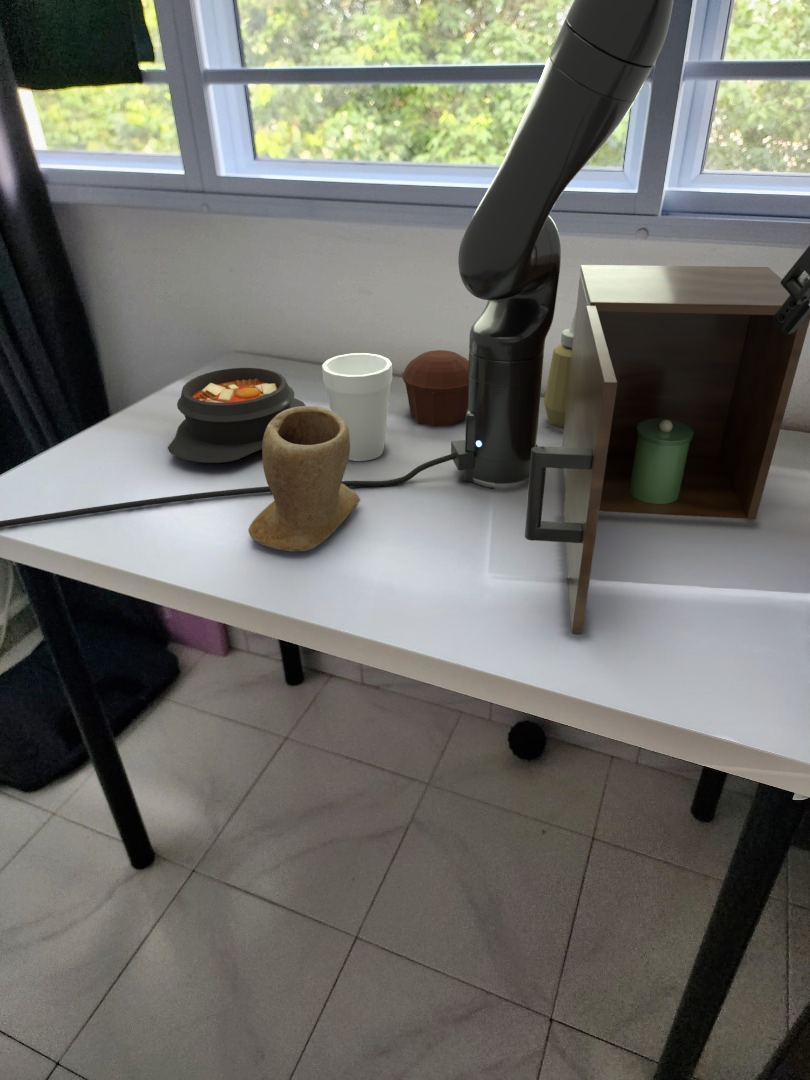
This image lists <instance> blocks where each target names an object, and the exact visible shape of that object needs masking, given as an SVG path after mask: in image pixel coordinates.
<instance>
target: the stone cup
mask: <svg viewBox="0 0 810 1080" xmlns="http://www.w3.org/2000/svg"><path fill="white" fill-rule="evenodd" d="M261 451H262V453H261V455H262V468H263V473H264V477H265V481H266V484H267V486H269V488H270V490H271V492H270V493H271V495H272V497H273V501H272V502H271V503H270V504H268V505H267V506H266V507H265V508H264V509H263V510H262V511H260V513H259V514H258V515H257V516H256V517H255V518H254V519H253V520H252V522H251V523H250V525H249V527H248V529H247V531H248V534H249V536H250V538H251V539H252V540H253V541H254V542H256V543H259V544H261V545H263V546H264V547H268V548H270V549H274V550H278V551H283V552H307V551H310V550H312V549H314V548H316V547H318V546H319V545H321V544H322V543H323V542H325V541H326V540H327V539H329V537H330V536H331V535H333V533H334V532H335V531H336V530H337V529H339V528H340V526H341V525H342V524H343V523H344V521H345V520H346V519H347V518H348V517H349V516H350V514H351V513H352V512H353V511H354V510H355V508H356V507H357V506H358V505H359V503H360V501H361V498H360V496H359V495H358V494H357V493H356V492H355V491H353V490H352V489H351V488H349V487H347V486H346V485H344V484H342V483H341V482H342V481H343V479H344V475H345V472H346V470H347V467H348V464H349V455H350V437H349V429H348V427H347V424H346V422H345V421H344V420H343V419H342V417H340V416H339V415H338V414H336V413H335V412H333V411H331V409H330V408H329V409H328V408H325V407H322V406H315V405H306V406H299V407H293V408H290V409H287V410H284V411H282V412H281V413H279V414H277V415H276V416H275V417H274V418H273V419H272V420H271V421H270V423H269V424H268V426H267V428H266V430H265V433H264V437H263V444H262V450H261Z"/></svg>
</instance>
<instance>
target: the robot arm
mask: <svg viewBox="0 0 810 1080" xmlns="http://www.w3.org/2000/svg"><path fill="white" fill-rule="evenodd" d="M674 2H675V0H573V2H572V4H571V6H570V8H569V10H568V13H567V15H566V16H565V19H564V21H563V24H562V25H561V28H560V30H559V33H558V35H557V37H556V39H555V42H554V44H553V47H552V48H551V50H550V53H549V56H548V58H547V61H546V64H545V65H544V68H543V71H542V73H541V75H540V78H539V81H538V83H537V86H536V88H535V89H534V92H533V94H532V96H531V99H530V101H529V103H528V105H527V107H526V109H525V112H524V114H523V116H522V118H521V120H520V123H519V125H518V128H517V130H516V132H515V134H514V137H513V139H512V141H511V143H510V146H509V148H508V151H507V153H506V155H505V157H504V159H503V161H502V163H501V165H500V166H499V169H498V171H497V173H496V175H495V177H494V178H493V179H492V182H491V184H490V185H489V187H488V188H487V190H486V192H485V194H484V196H483V198H482V199H481V201H480V203H479V204H478V206H477V208H476V210H475V212H474V213H473V215H472V217H471V219H470V220H469V222H468V225H467V227H466V229H465V230H464V233H463V235H462V238H461V241H460V245H459V250H458V256H457V257H458V258H457V260H458V264H457V266H458V270H459V271H458V272H459V275H460V279H461V282H462V283H463V285H464V287H465V289H466V290H467V291H468V292H469V293H470V294H471V295H472V296H474V297H475V298H477V299H480V300H483V301H486V305H485V307H484V309H483V310H482V312H481V313H480V315H479V316H478V318H477V319H476V320H475V321H474V322H473V323H472V325H471V327H470V330H469V335H468V336H469V338H468V339H469V340H468V341H469V342H468V360H469V373H468V407H467V413H466V416H465V434H464V435H465V439H459V440H451V441H450V442H451V443H450V454H446V455H444V456H441V457H437V458H435V459H432V460H429V461H427V462H424V463H422V464H420V465H418V466H416V467H415V468H413V469H412V470H411V471H409V472H408V473H406V474H405V475H403V476H401V477H397V478H393V479H387V480H342V482H341V483H342V484H344V485H346V486H347V487H348V488H349V487H360V488H361V487H363V488H365V487H367V488H380V487H391V486H396V485H399V484H403V483H407V482H408V481H410V480H412V479H413V478H414V477H415V476H417V475H418V474H419V473H421V472H423V471H424V470H427V469H429V468H432V467H435V466H437V465H440V464H444V463H446V462H449V461H453V463H454V465H455V468H456V469H457V470H458V471H464V473H463V474H464V478H463V479H464V482H467V483H474V484H476V485H478V486H480V487H485V488H489V489H495V487H496V484H501V485H502V484H503V485H504V484H513V483H518V482H522V481H524V480H526V479H527V480H528V479H529V474H530V461H531V449H532V448H533V447H537V446H538V444H537V441H538V431H539V430H538V429H539V417H540V405H541V394H542V393H541V391H542V381H543V380H542V379H543V371H544V370H543V369H544V359H545V358H544V355H545V345H546V339H547V336H548V334H549V332H550V330H551V327H552V324H553V321H554V317H555V311H556V303H557V297H558V295H557V294H558V289H559V281H560V280H559V279H560V271H561V263H562V262H561V261H562V246H561V245H562V243H561V237H560V233H559V230H558V228H557V226H556V223H555V221H554V220H553V218H552V217H551V216H550V214H551V212H552V211H553V208H554V207H555V205H556V203H557V202H558V200H559V198H560V197H561V195H562V194H563V193H564V191H565V190H566V188H567V187H568V186H569V185H570V183H571V182H572V181H573V180H574V178H575V177H576V176H577V175H578V174H579V173H580V172H581V170H583V169H584V167H585V166H586V165H587V164H588V163H589V162H590V160H591V159H592V158H593V157H594V156H595V155H596V154H597V153H598V151H600V149H601V148H602V146H604V145H605V143H606V142H607V141H608V139H609V138H610V137H611V136H612V135H613V134H614V132H615V131H616V130H617V129H618V127H619V126H620V125H621V123H622V121H623V120H624V119H625V117H626V116H627V114H628V112H629V111H630V110H631V108H632V106H633V104H634V102H635V101H636V99H637V97H638V95H639V93H640V91H641V90H642V88H643V86H644V84H645V82H646V80H647V78H648V77H649V76H650V74H651V71H652V69H653V68H654V65H655V64H656V62H657V60H658V57H659V56H660V53H661V51H662V49H663V46H664V44H665V41H666V39H667V36H668V32H669V27H670V23H671V19H672V13H673V9H674V8H673V7H674ZM781 279H782V280H781V282H780V284H781V285H782V286H783V287H784V288H785V289H786V290H787V292H788V293H789V294H790V296H789V297H788V298H787V300H786V301H785V302H784V304H783V305H782V306H781V307H780V309H779V310H778V311H777V312H776V314H775V315H774V317H773V322H774V324H775V325H776V326H777V328H778V329H779V330H780V331H781V333H782V334H784V335H787V334H791V333H794V332H795V330H796V329H797V328H798V327H799V326H800V324H801V323H802V322H803V321H804V320H805V318H806V317H807V316H808V315H809V314H810V244H809V245H808V247H807V248H806V249H805V250H804V251H803V253H802V254H801V256H799V258H798V259H797V260H796V262H794V264H793V265H792V266H791V268H790V269H789V270H788V271H787V273H786V274H785V275H784V276H783V278H781ZM262 493H263V494H264V493H272V492H271V490H270V488H269V486H268V485H266V486H257V487H256V486H255V487H245V488H236V489H224V490H216V491H215V490H213V491H205V492H198V493H189V494H180V495H171V496H165V497H164V496H163V497H155V498H149V499H140V500H134V501H126V502H119V503H113V504H106V505H98V506H92V507H83V508H78V509H72V510H71V509H70V510H64V511H58V512H52V513H45V514H39V515H38V514H37V515H31V516H24V517H18V518H11V519H4V520H0V528H5V527H11V526H19V525H24V524H31V523H38V522H43V521H44V522H45V521H51V520H57V519H58V520H59V519H65V518H71V517H78V516H84V515H92V514H97V513H105V512H111V511H120V510H125V509H126V510H127V509H133V508H139V507H146V506H155V505H161V504H162V505H163V504H170V503H177V502H187V501H195V500H203V499H210V498H211V499H212V498H213V499H214V498H221V497H230V496H232V497H233V496H240V495H241V496H242V495H253V494H262Z"/></svg>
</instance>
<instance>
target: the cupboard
mask: <svg viewBox="0 0 810 1080" xmlns="http://www.w3.org/2000/svg"><path fill="white" fill-rule="evenodd" d="M579 271H580V272H579V280H578V289H577V290H578V291H577V298H576V299H577V300H576V308H575V311H576V317H575V327H574V336H573V346H572V356H571V365H570V375H569V385H568V394H567V404H566V413H565V423H564V427H563V433H562V434H563V435H562V444H561V448H571V439H572V429H573V420H574V411H575V402H576V393H577V384H578V375H579V366H580V357H581V348H582V339H583V330H584V321H585V312H586V306H596V308H597V312H598V316H599V319H600V323H601V326H602V330H603V334H604V337H605V341H606V344H607V348H608V352H609V355H610V359H611V362H612V366H613V370H614V373H615V377H616V380H617V388H616V396H615V403H614V410H613V417H612V424H611V431H610V438H609V445H608V452H607V460H606V467H605V474H604V481H603V488H602V495H601V502H600V509H599V512H605V513H606V512H607V513H622V514H623V513H624V514H625V513H626V514H643V515H644V514H646V515H663V516H683V517H700V518H701V517H703V518H722V519H740V520H757V516H758V512H759V508H760V505H761V501H762V497H763V493H764V490H765V486H766V483H767V479H768V476H769V471H770V468H771V464H772V461H773V458H774V454H775V451H776V446H777V442H778V439H779V435H780V431H781V428H782V424H783V421H784V418H785V413H786V409H787V406H788V402H789V398H790V395H791V391H792V388H793V384H794V380H795V377H796V373H797V369H798V366H799V362H800V358H801V355H802V351H803V347H804V343H805V340H806V337H807V333H808V329H809V325H810V314H809V315H808V316H807V317H806V318H805V320H804V321H803V322H802V323H801V324H800V326H799V327H798V328H797V329H796V330H795V332H794V333H791V334H787V335H784V334H782V333H781V331H780V330H779V329H778V328H777V326H776V325H775V324H774V322H773V317H774V315H775V314H776V312H777V311H778V310H779V309H780V307H781V306H782V305H783V304H784V302H785V301H786V300H787V298H788V297H789V296H790V294H789V293H788V292H787V290H786V289H785V288H784V287H783V286H782V285H781V284H780V282H781V280H782V279H783V278H781V277H780V276H779V275H778V274H777V273H776V272H775V271H773V270H772V268H770V267H769V266H718V265H717V266H712V265H711V266H707V265H706V266H705V265H703V266H702V265H634V264H633V265H632V264H631V265H630V264H629V265H626V264H625V265H622V264H621V265H620V264H619V265H617V264H580V270H579ZM649 419H669V420H675V421H679V422H682V423H684V424H686V425H688V426H690V427H691V428H692V429H693V431H694V436H693V439H692V440H691V441H690V446H689V451H688V456H687V461H686V466H685V471H684V475H683V480H682V485H681V490H680V495H679V498H678V499H677V500H676V501H674V502H671V503H667V504H652V503H647V502H643V501H640V500H638V499H636V498H634V497H633V496H632V495H631V494H630V493H629V490H628V488H629V482H630V476H631V470H632V464H633V457H634V451H635V445H636V439H637V433H636V428H637V425H638V424H639V423H640V422H642V421H645V420H649ZM567 475H568V469H566V468H563V477H564V490H565V491H566V484H567Z"/></svg>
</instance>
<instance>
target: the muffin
mask: <svg viewBox="0 0 810 1080" xmlns="http://www.w3.org/2000/svg"><path fill="white" fill-rule="evenodd" d="M468 373H469V359H468V358H466V357H464V356H462V355H460V354H459V353H457V352H455V351H451V350H444V349H443V350H442V349H437V350H436V349H435V350H429V351H425V352H422V353H421V354H419V355H418V356H416V357H414V358H413V359H412V360H410V361H409V363H407V365H406V366H405V368H404V371H403V372H402V380H403V382H404V385H405V388H406V393H407V399H408V405H409V411H410V417H411V418H412V419H413V420H415V421H416V422H417V423H418V424H421V425H428V426H432V427H443V426H453V425H455V424H457V423H461V422H463V421H466V413H467V407H468Z"/></svg>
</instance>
